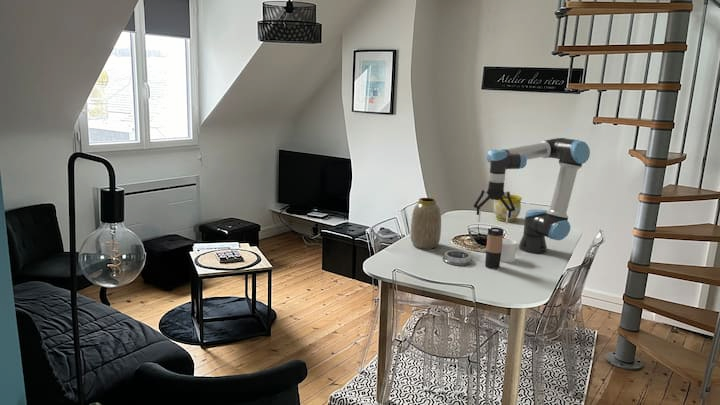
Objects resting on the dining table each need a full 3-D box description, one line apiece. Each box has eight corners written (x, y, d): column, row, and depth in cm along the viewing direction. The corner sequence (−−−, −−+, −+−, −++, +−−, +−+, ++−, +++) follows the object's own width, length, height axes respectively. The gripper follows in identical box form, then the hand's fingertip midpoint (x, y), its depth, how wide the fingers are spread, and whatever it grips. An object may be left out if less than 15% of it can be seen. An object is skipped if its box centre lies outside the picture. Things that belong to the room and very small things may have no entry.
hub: (472, 258, 282) (472, 251, 282) (471, 267, 268) (471, 260, 267) (444, 254, 286) (444, 248, 285) (441, 263, 272) (442, 257, 271)
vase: (443, 243, 306) (446, 198, 300) (434, 251, 291) (437, 204, 284) (415, 239, 313) (418, 195, 307) (405, 246, 298) (408, 200, 291)
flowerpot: (493, 222, 356) (495, 198, 352) (491, 215, 374) (493, 193, 370) (520, 224, 353) (523, 200, 350) (517, 217, 371) (520, 194, 367)
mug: (509, 264, 275) (511, 245, 272) (491, 259, 281) (493, 241, 279) (519, 258, 284) (521, 240, 282) (502, 254, 290) (504, 236, 288)
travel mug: (500, 270, 266) (504, 232, 261) (484, 268, 267) (488, 230, 263) (499, 264, 273) (503, 228, 268) (484, 263, 274) (487, 226, 270)
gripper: (522, 182, 262) (517, 222, 267) (471, 178, 268) (468, 218, 273) (523, 184, 255) (518, 226, 260) (470, 180, 261) (467, 221, 266)
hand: (492, 222), depth 266 cm, fingers open, 13 cm apart
